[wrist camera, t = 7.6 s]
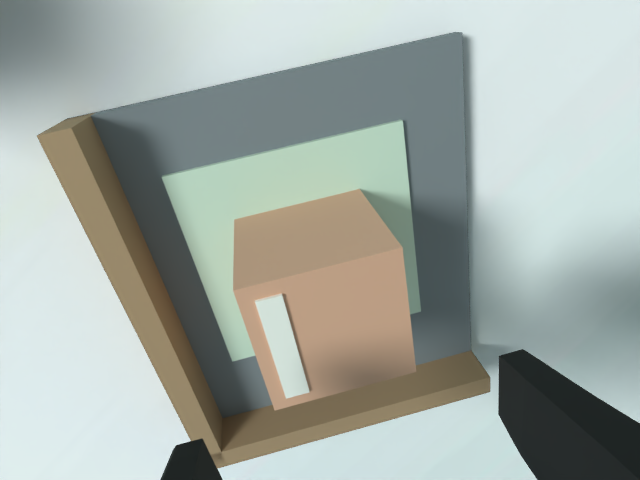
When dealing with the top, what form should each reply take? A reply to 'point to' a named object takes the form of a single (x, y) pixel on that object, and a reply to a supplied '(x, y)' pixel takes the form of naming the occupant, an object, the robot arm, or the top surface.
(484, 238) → the top surface
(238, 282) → the cube
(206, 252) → the pad
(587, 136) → the top surface
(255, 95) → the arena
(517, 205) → the top surface
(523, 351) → the robot arm
